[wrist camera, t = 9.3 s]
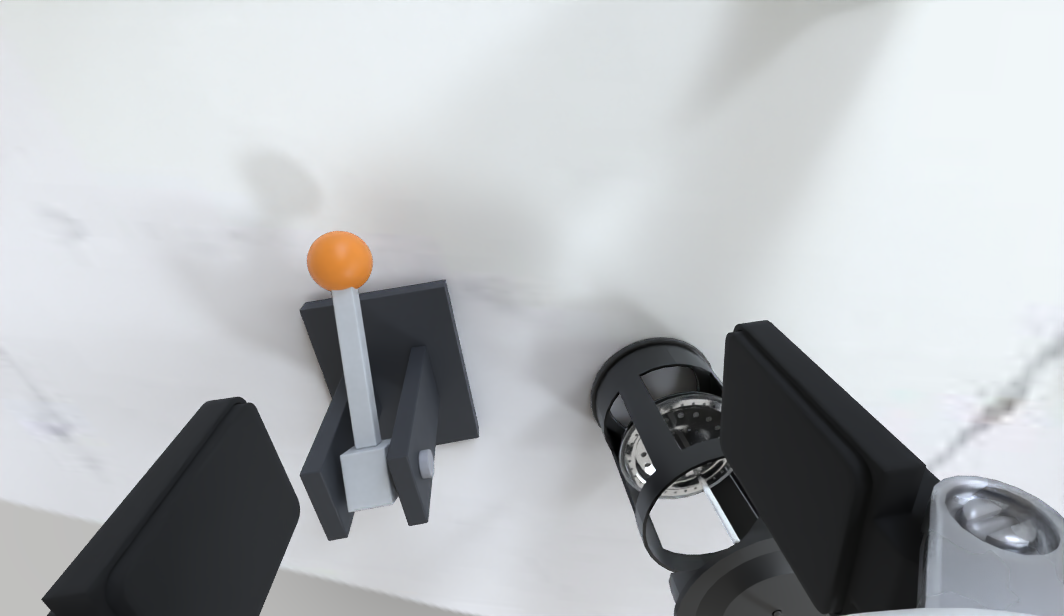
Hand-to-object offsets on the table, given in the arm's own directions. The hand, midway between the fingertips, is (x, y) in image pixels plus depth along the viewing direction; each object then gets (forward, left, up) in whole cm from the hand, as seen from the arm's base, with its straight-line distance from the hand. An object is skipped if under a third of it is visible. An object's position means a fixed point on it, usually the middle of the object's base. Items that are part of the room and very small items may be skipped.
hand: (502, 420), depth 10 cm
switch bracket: (+11, -8, -22) cm, 26 cm away
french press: (+17, +10, -23) cm, 30 cm away
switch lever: (+7, -8, -16) cm, 19 cm away
